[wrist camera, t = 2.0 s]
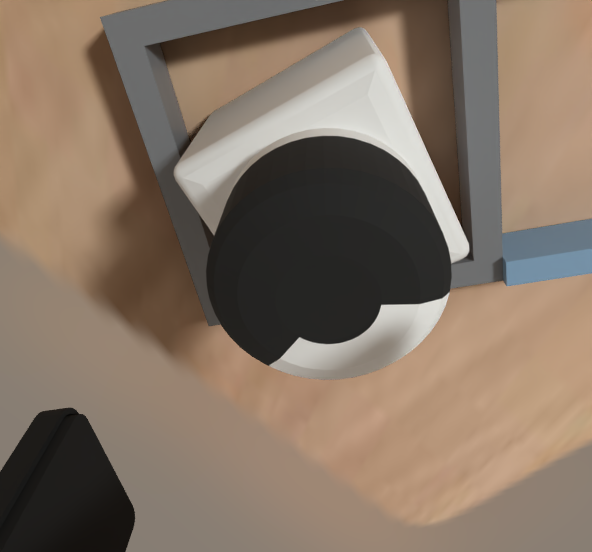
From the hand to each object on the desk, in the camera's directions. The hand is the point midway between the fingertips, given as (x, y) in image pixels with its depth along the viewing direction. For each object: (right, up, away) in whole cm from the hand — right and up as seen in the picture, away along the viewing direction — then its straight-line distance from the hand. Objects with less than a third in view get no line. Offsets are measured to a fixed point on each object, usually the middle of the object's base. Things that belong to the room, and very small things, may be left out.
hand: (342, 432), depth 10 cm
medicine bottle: (0, +8, +14) cm, 16 cm away
